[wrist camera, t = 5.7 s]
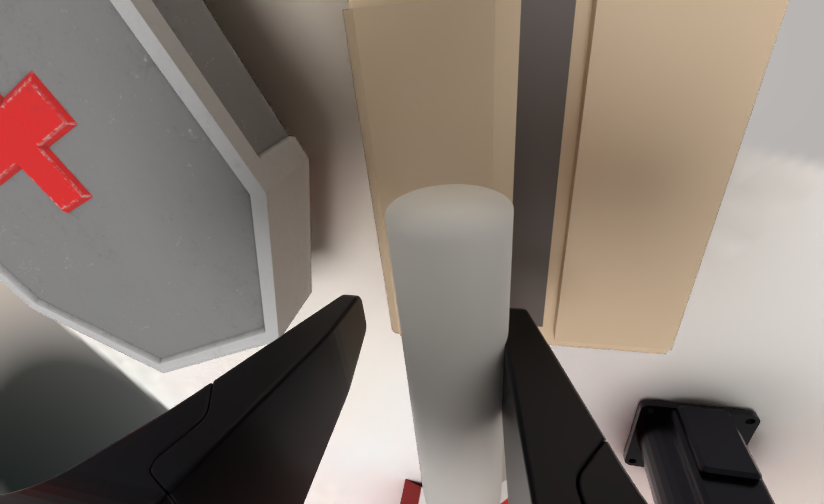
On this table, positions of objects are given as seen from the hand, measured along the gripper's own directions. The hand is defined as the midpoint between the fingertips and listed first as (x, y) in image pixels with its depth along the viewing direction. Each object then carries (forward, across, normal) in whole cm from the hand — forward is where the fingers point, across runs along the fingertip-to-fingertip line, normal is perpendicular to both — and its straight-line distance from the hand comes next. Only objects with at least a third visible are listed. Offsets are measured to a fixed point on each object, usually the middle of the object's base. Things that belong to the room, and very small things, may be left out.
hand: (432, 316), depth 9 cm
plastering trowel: (+5, 0, +1) cm, 5 cm away
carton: (+13, -2, +1) cm, 13 cm away
